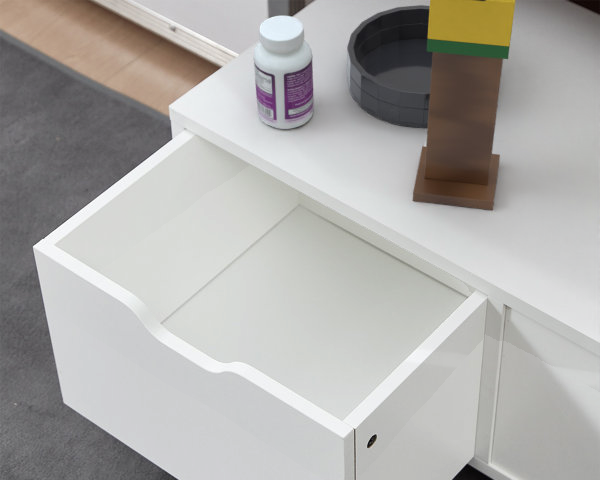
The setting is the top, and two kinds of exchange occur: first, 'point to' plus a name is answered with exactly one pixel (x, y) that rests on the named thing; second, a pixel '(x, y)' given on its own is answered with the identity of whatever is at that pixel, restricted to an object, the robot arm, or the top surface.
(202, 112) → the top surface
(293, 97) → the pill bottle
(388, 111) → the pan
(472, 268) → the top surface
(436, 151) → the brown upright plaque stand
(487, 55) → the sponge
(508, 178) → the top surface
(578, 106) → the top surface
